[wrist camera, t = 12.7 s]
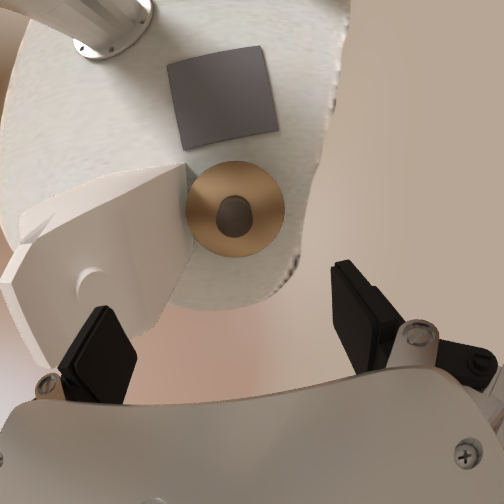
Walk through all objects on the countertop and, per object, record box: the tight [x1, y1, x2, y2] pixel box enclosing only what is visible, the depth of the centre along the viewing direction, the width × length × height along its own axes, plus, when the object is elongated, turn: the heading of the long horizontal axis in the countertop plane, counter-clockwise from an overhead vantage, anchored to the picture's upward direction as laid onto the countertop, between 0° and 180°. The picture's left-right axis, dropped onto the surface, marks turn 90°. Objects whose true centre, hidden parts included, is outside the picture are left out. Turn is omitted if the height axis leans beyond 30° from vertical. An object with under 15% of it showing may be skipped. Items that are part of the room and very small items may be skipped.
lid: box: [185, 161, 285, 257], centre depth 28 cm, size 11×11×5 cm
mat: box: [167, 46, 278, 150], centre depth 29 cm, size 12×12×1 cm
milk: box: [0, 163, 194, 369], centre depth 22 cm, size 12×12×26 cm
